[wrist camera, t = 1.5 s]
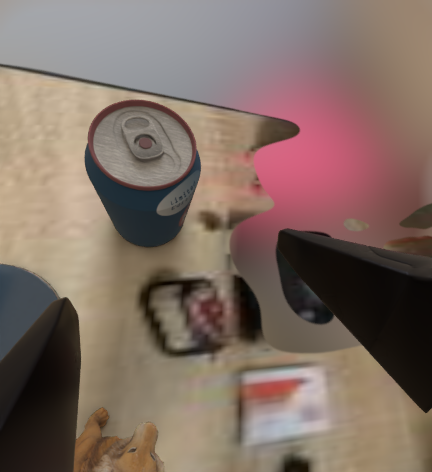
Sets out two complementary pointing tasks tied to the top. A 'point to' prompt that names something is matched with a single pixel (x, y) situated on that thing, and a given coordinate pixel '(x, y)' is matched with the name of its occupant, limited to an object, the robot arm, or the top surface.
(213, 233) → the top surface
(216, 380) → the top surface
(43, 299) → the coaster
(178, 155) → the soda can
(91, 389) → the top surface
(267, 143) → the top surface
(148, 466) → the lion figurine
